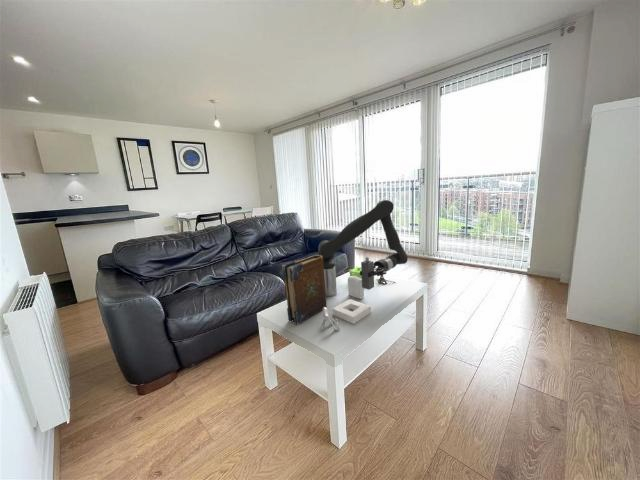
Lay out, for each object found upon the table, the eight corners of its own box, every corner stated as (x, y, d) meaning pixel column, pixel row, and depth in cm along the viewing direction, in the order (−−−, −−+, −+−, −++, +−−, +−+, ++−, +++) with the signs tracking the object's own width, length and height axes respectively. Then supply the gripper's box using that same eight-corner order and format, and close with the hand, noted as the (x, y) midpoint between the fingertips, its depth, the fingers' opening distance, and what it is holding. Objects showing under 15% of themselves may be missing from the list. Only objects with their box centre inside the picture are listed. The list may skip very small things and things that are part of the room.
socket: (332, 314, 133) (332, 308, 133) (350, 304, 143) (349, 299, 142) (353, 323, 123) (353, 317, 123) (370, 312, 133) (370, 306, 132)
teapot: (365, 277, 182) (365, 263, 180) (374, 283, 169) (374, 268, 167) (345, 280, 178) (344, 266, 176) (352, 287, 165) (352, 272, 163)
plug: (362, 287, 135) (360, 257, 132) (367, 284, 138) (366, 255, 135) (369, 289, 132) (368, 259, 128) (374, 286, 135) (373, 257, 131)
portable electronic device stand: (339, 331, 118) (338, 314, 117) (322, 332, 118) (321, 316, 116) (337, 321, 127) (336, 305, 125) (321, 323, 126) (320, 307, 124)
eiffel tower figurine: (396, 283, 168) (396, 264, 165) (388, 288, 162) (387, 268, 159) (377, 278, 179) (377, 260, 176) (369, 283, 173) (368, 264, 170)
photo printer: (347, 295, 155) (346, 275, 153) (352, 292, 158) (351, 273, 155) (360, 300, 148) (359, 279, 145) (365, 297, 150) (364, 277, 148)
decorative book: (297, 325, 125) (291, 267, 119) (288, 321, 130) (282, 265, 124) (328, 307, 142) (325, 255, 136) (319, 303, 147) (315, 253, 140)
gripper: (372, 257, 147) (353, 265, 136) (394, 261, 137) (376, 270, 125) (372, 269, 149) (353, 278, 137) (394, 274, 138) (376, 284, 127)
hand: (364, 274), depth 131 cm, fingers closed on plug, 4 cm apart
